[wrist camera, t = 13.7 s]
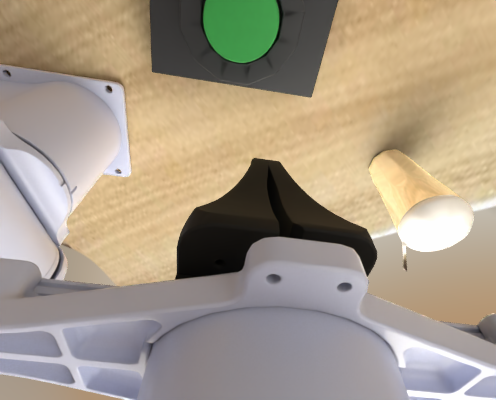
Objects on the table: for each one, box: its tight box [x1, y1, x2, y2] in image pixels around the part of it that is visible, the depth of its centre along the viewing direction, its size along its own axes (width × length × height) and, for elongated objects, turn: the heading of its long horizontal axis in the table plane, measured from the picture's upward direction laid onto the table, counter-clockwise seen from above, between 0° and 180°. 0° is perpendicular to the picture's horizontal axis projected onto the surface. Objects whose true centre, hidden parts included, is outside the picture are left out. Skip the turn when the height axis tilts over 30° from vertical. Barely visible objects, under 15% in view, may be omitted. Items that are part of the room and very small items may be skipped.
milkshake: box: [369, 149, 474, 271], centre depth 22 cm, size 4×5×10 cm
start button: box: [203, 0, 279, 63], centre depth 16 cm, size 4×4×2 cm
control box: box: [150, 0, 338, 97], centre depth 18 cm, size 11×8×4 cm
